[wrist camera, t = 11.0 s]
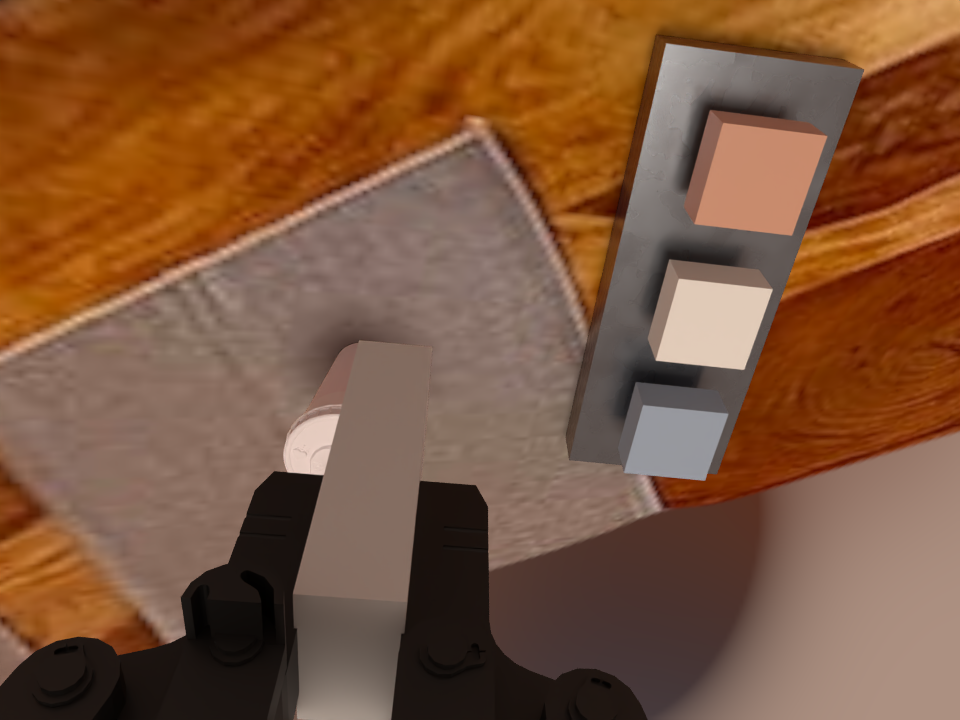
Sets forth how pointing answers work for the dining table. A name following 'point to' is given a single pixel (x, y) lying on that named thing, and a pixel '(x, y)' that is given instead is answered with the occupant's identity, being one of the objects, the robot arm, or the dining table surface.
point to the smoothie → (319, 420)
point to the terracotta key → (753, 172)
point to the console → (672, 234)
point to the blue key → (671, 431)
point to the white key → (708, 314)
